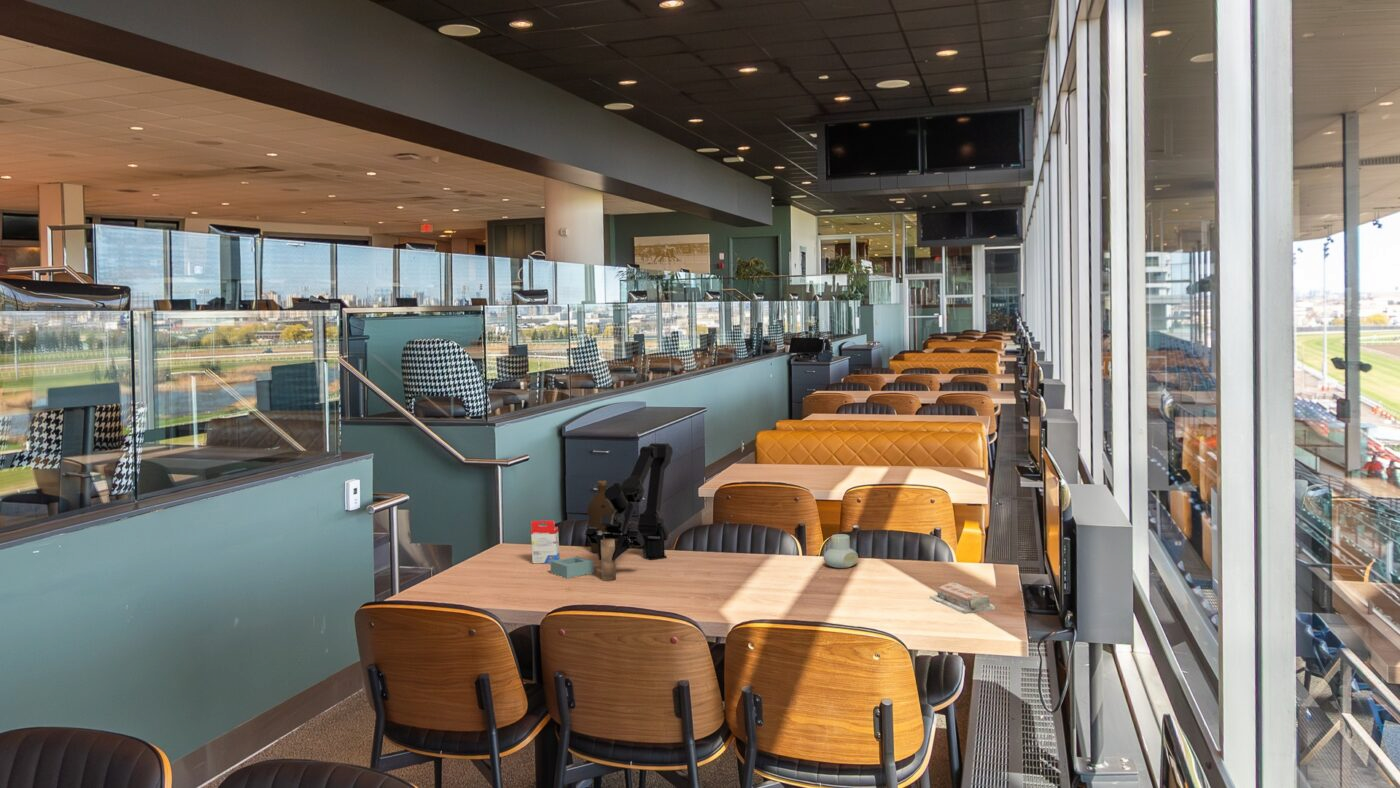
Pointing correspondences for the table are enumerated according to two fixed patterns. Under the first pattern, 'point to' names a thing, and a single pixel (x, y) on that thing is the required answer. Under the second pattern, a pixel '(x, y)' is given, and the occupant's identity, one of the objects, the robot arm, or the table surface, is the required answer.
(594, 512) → the olive oil
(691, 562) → the table surface
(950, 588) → the packaged product
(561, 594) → the table surface
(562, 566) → the socket block
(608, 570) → the peg
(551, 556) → the ink box
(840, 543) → the pale green rounded piece
